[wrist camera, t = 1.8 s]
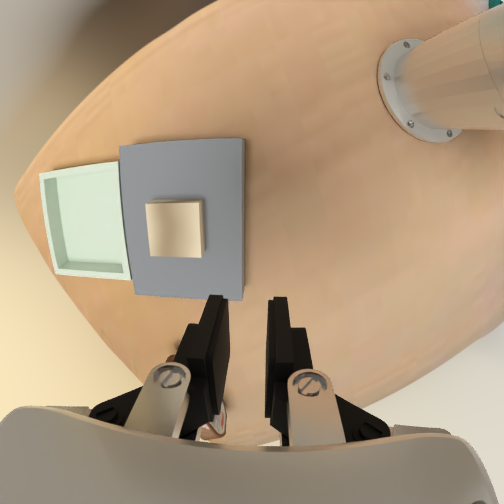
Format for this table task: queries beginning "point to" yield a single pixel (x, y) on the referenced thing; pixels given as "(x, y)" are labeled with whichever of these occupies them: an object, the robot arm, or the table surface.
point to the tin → (211, 428)
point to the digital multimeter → (494, 3)
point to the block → (176, 227)
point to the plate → (187, 187)
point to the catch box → (86, 221)
